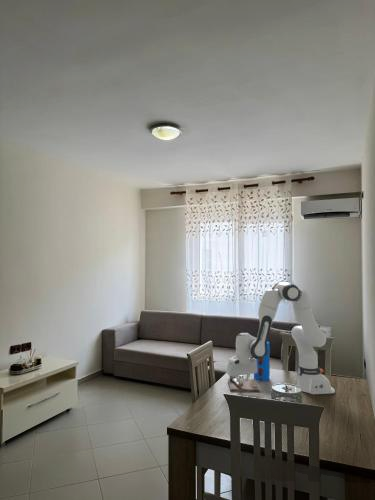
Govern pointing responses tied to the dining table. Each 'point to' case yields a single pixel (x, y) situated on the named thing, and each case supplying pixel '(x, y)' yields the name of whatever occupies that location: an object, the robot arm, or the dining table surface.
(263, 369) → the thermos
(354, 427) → the dining table surface
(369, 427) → the dining table surface
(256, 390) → the press base
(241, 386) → the lever
